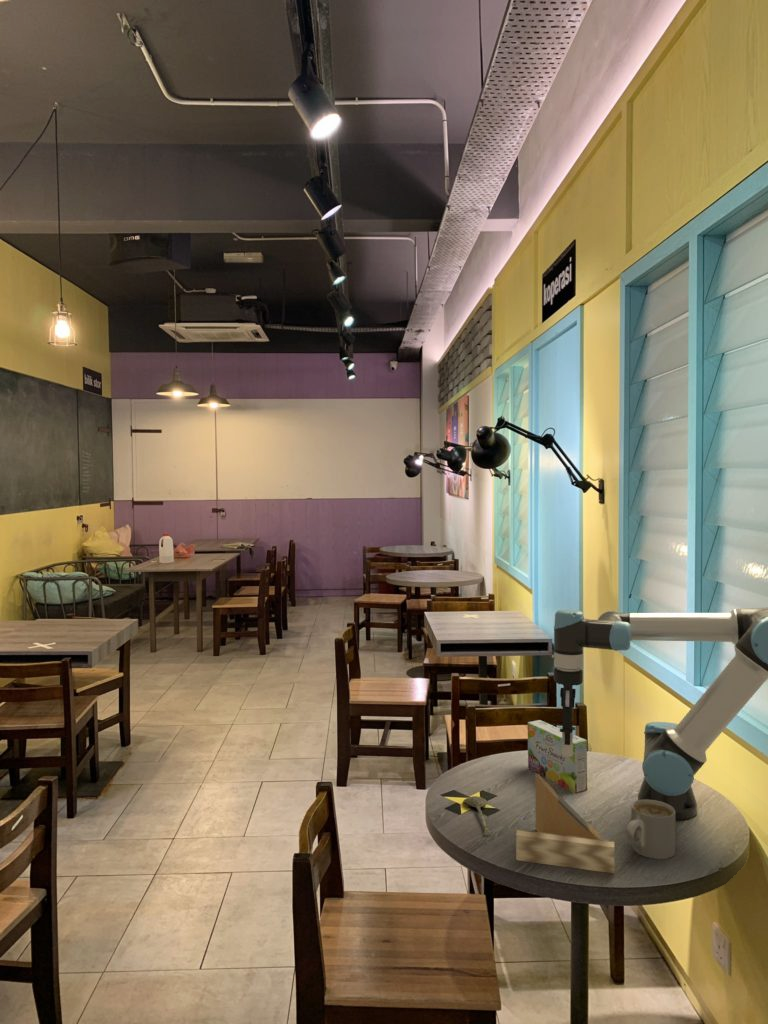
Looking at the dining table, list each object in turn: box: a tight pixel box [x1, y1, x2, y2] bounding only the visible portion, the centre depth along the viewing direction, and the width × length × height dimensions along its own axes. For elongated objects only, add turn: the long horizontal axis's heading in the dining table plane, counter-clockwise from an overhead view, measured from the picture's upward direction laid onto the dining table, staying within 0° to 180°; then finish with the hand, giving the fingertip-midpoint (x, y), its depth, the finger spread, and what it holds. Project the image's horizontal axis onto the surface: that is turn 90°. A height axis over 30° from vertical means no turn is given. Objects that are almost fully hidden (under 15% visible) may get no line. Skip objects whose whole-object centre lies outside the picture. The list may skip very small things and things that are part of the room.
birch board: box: [515, 828, 616, 874], centre depth 167 cm, size 22×3×6 cm, turn 74°
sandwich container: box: [535, 772, 603, 840], centre depth 181 cm, size 9×15×15 cm, turn 92°
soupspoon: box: [462, 795, 491, 837], centre depth 192 cm, size 22×3×7 cm
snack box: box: [527, 719, 588, 794], centre depth 217 cm, size 21×6×15 cm, turn 28°
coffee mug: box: [625, 799, 676, 860], centre depth 174 cm, size 13×10×10 cm
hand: (567, 755), depth 193 cm, fingers closed
